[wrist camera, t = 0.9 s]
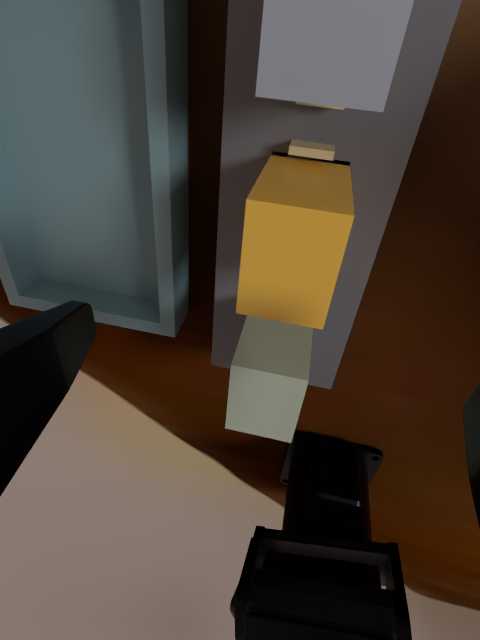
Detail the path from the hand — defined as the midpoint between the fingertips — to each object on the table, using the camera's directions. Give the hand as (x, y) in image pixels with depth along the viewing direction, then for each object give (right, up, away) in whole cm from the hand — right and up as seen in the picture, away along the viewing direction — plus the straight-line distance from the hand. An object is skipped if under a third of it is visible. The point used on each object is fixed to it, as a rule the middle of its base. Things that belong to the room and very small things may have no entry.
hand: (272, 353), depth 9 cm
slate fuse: (+3, +12, +5) cm, 13 cm away
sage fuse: (+2, +1, +13) cm, 13 cm away
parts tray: (-8, +9, +10) cm, 15 cm away
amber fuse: (+2, +7, +9) cm, 11 cm away
